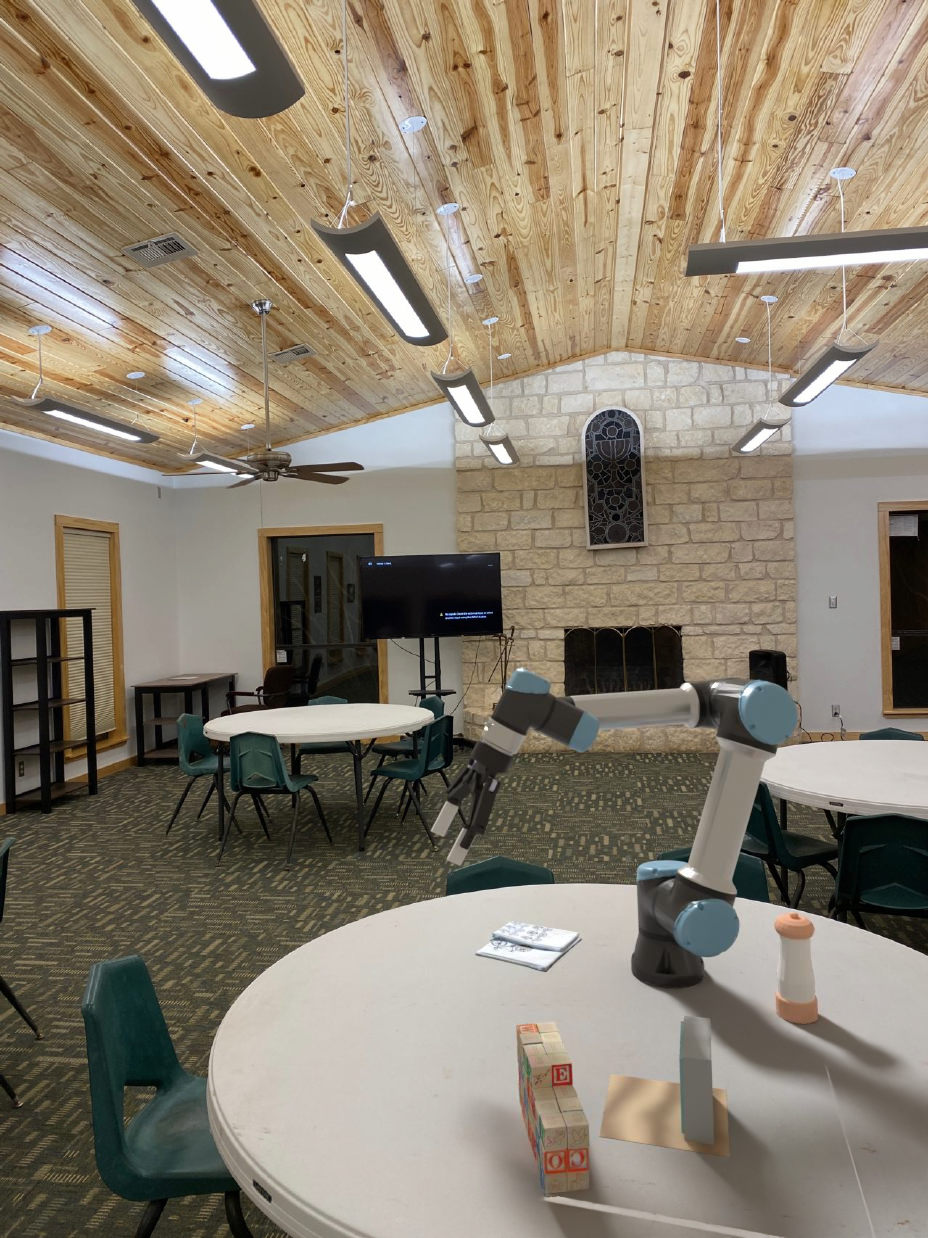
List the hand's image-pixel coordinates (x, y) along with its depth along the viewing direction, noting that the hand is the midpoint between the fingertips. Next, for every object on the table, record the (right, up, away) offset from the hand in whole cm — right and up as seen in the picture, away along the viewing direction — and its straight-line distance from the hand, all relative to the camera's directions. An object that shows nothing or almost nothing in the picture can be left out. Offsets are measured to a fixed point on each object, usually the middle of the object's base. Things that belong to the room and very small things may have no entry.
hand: (444, 847), depth 147 cm
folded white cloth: (+18, -34, +35) cm, 52 cm away
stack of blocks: (+16, -34, -33) cm, 50 cm away
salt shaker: (+66, -32, +1) cm, 74 cm away
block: (+39, -32, -29) cm, 58 cm away
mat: (+34, -33, -28) cm, 55 cm away
